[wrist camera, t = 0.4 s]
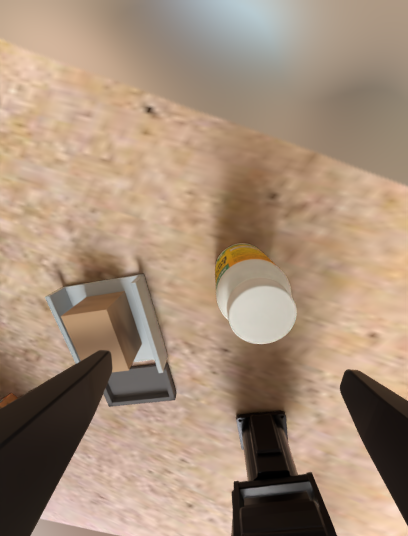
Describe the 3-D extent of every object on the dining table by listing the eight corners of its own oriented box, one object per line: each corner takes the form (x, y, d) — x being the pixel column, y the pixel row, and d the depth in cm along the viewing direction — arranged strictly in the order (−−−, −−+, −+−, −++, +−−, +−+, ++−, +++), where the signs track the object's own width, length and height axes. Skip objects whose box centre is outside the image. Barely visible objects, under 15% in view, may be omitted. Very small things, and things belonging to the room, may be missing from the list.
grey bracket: (167, 356, 25) (163, 372, 22) (96, 365, 26) (84, 381, 23) (143, 273, 21) (135, 282, 19) (62, 286, 22) (44, 296, 20)
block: (142, 343, 24) (128, 370, 20) (106, 348, 24) (87, 375, 21) (124, 290, 22) (106, 309, 18) (86, 296, 22) (60, 316, 18)
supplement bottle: (263, 292, 22) (300, 357, 12) (213, 289, 22) (214, 352, 13) (269, 242, 20) (318, 276, 11) (216, 240, 20) (219, 272, 11)
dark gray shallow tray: (176, 392, 27) (175, 399, 26) (112, 399, 27) (109, 406, 26) (167, 363, 25) (165, 369, 24) (100, 370, 26) (96, 377, 25)
